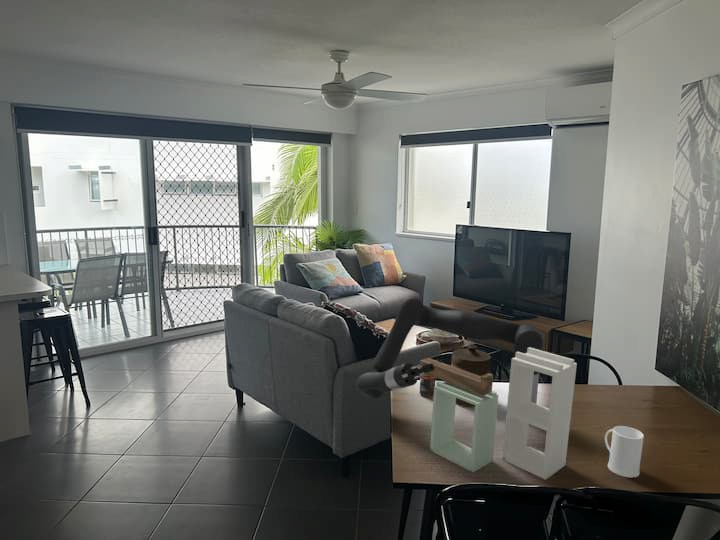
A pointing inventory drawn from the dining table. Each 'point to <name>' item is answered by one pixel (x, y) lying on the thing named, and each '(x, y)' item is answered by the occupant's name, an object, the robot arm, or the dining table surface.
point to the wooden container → (471, 364)
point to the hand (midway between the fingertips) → (437, 364)
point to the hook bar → (460, 377)
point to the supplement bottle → (427, 385)
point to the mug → (625, 451)
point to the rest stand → (481, 428)
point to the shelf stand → (539, 412)
